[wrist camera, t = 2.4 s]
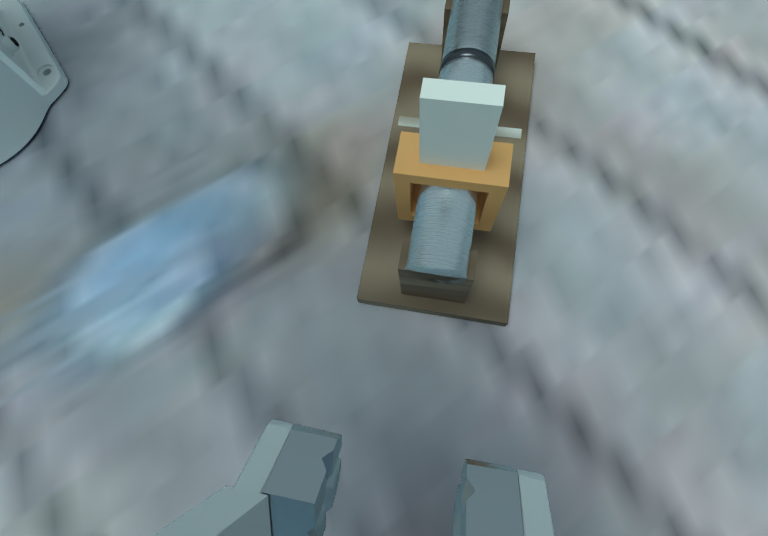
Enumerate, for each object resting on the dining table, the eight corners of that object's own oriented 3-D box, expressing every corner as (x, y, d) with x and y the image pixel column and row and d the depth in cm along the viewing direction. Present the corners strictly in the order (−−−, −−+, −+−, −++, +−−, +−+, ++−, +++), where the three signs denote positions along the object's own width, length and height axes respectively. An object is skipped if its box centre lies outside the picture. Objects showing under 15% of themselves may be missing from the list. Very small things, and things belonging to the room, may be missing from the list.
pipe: (464, 287, 30) (470, 270, 26) (405, 278, 30) (403, 260, 27) (500, 15, 37) (510, -31, 33) (451, 11, 37) (455, -35, 33)
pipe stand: (504, 326, 35) (528, 304, 27) (358, 302, 36) (342, 275, 29) (532, 62, 42) (557, -13, 34) (409, 51, 44) (407, -23, 36)
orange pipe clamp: (490, 231, 33) (534, 125, 20) (398, 219, 33) (385, 110, 21) (494, 195, 33) (539, 73, 21) (404, 184, 34) (396, 60, 22)
